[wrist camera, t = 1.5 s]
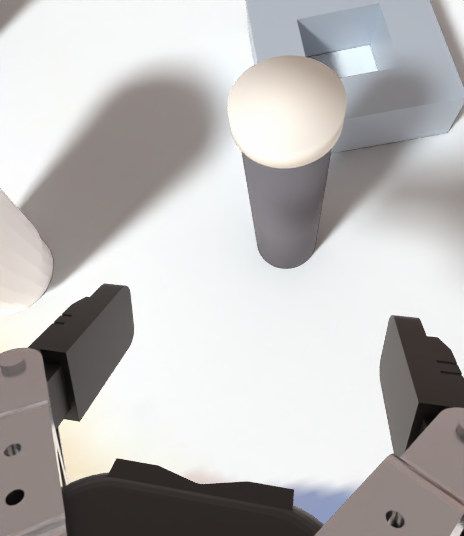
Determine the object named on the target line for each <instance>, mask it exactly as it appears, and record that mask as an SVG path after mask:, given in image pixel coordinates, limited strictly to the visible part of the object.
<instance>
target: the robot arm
mask: <svg viewBox="0 0 464 536" xmlns="http://www.w3.org/2000/svg"><path fill="white" fill-rule="evenodd" d="M133 335H134V323H133V313H132V304H131V294H130V290H129V288H128V287H127V286H122V285H113V284H103V285H101V286H100V287H99V288H98V290H97V291H96V292H95V293H94V294H93V295H92V296H91V297H85V298H83V299H81V300H79V301H77V302H76V303H74V304H72V305H71V306H70V307H69V308H68V309H67V310H66V311H65V312H64V313H63V314H62V316H60V317H59V318H58V319H57V320H55V321H54V324H51V325H50V326H49V327H48V328H47V329H46V330H45V331H44V332H43V333H42V334H41V335H40V336H39V337H38V338H37V339H36V340H35V341H34V342H33V343H32V344H31V345H30V346H29V347H28V348H17V349H12V350H9V351H6V352H3V353H1V354H0V536H464V378H463V376H461V374H462V373H461V371H460V369H459V367H458V365H457V362H456V360H455V358H454V356H453V353H452V351H451V349H450V348H448V347H447V346H446V345H445V344H444V343H443V342H442V341H441V340H440V339H439V338H437V337H428V336H426V333H425V331H424V328H423V326H422V323H421V321H420V319H419V318H413V317H404V316H395V315H392V316H391V317H390V319H389V322H388V327H387V332H386V336H385V341H384V346H383V350H382V355H381V360H380V382H381V387H382V392H383V398H384V403H385V408H386V414H387V419H388V424H389V429H390V435H391V440H392V445H393V450H394V454H391V455H389V456H388V457H387V458H386V459H385V460H384V461H383V462H382V463H381V464H380V465H379V466H378V467H377V468H376V469H375V470H374V472H373V473H372V474H371V475H370V476H369V477H368V478H367V479H366V480H365V481H364V482H363V483H362V485H361V486H360V487H359V488H358V489H357V490H356V491H355V492H354V493H353V494H352V495H351V496H350V497H349V499H348V500H347V501H346V502H345V503H344V504H343V505H342V506H341V507H340V508H339V509H338V510H337V512H336V513H335V514H334V515H333V516H332V517H331V518H330V519H329V520H328V521H327V523H325V525H324V524H323V523H321V522H320V521H319V520H318V519H316V518H315V517H314V516H312V515H311V514H309V513H307V512H305V511H304V510H302V509H300V508H298V507H296V506H293V496H294V490H293V489H287V488H281V487H276V486H270V485H265V484H259V483H253V482H233V483H216V484H198V483H195V482H193V481H190V480H188V479H186V478H184V477H182V476H179V475H177V474H175V473H173V472H171V471H169V470H166V469H164V468H162V467H160V466H157V465H151V464H146V463H140V462H135V461H129V460H123V459H118V458H117V459H116V461H115V462H114V464H113V466H112V468H111V470H110V472H109V473H102V474H97V475H92V476H89V477H85V478H82V479H79V480H77V481H74V482H72V483H70V484H69V483H68V478H67V472H66V466H65V460H64V454H63V448H62V443H61V437H60V432H59V427H58V426H59V425H60V423H61V422H62V420H63V419H67V420H73V421H79V422H80V420H81V419H82V417H83V416H84V414H85V413H86V411H87V410H88V408H89V407H90V405H91V404H92V402H93V401H94V399H95V398H96V396H97V395H98V393H99V392H100V390H101V389H102V387H103V386H104V384H105V383H106V381H107V380H108V378H109V377H110V375H111V374H112V372H113V371H114V369H115V368H116V366H117V365H118V363H119V362H120V360H121V359H122V357H123V356H124V354H125V353H126V351H127V350H128V348H129V347H130V345H131V342H132V339H133Z"/></svg>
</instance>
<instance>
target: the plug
mask: <svg viewBox="0 0 464 536" xmlns="http://www.w3.org/2000/svg"><path fill="white" fill-rule="evenodd" d="M346 105H347V96H346V91H345V88H344V85H343V83H342V81H341V79H340V78H339V77H338V75H337V74H336V73H335V72H334V71H333V70H332V69H331V68H329V67H328V66H327V65H325V64H323V63H321V62H319V61H317V60H315V59H312V58H308V57H303V56H295V55H286V56H278V57H273V58H269V59H266V60H264V61H261V62H259V63H257V64H255V65H254V66H252V67H250V68H249V69H248V70H246V71H245V72H244V73H243V74H242V75H241V76H240V77H239V78H238V79H237V81H236V82H235V84H234V85H233V87H232V89H231V91H230V94H229V98H228V105H227V107H228V116H229V121H230V126H231V131H232V136H233V138H234V141H235V143H236V144H237V146H238V148H239V149H240V150H241V151H242V157H243V163H244V169H245V175H246V181H247V187H248V193H249V199H250V205H251V211H252V217H253V222H254V228H255V234H256V240H257V246H258V250H259V253H260V254H261V256H262V257H263V259H264V260H265V261H266V262H268V263H269V264H271V265H272V266H275V267H278V268H283V269H288V268H294V267H297V266H300V265H302V264H303V263H305V262H306V261H307V260H308V259H309V258H310V257H311V255H312V253H313V251H314V248H315V243H316V238H317V232H318V226H319V220H320V214H321V208H322V202H323V197H324V191H325V185H326V179H327V173H328V167H329V161H330V156H331V150H332V147H333V146H334V145H335V143H336V142H337V140H338V138H339V136H340V134H341V131H342V127H343V122H344V117H345V111H346Z"/></svg>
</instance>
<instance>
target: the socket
mask: <svg viewBox="0 0 464 536" xmlns="http://www.w3.org/2000/svg"><path fill="white" fill-rule="evenodd" d="M246 8H247V19H248V29H249V38H250V43H251V49H252V54H253V60H254V65H255V64H257V63H259V62H261V61H264V60H266V59H269V58H273V57H278V56H286V55H295V56H303V57H307V56H313V55H318V54H323V53H328V52H334V51H339V50H344V49H349V48H355V47H360V46H365V45H370V46H371V49H372V52H373V56H374V59H375V62H376V65H377V69H378V71H375V72H370V73H365V74H359V75H354V76H348V77H343V78H340V79H341V81H342V83H343V85H344V88H345V91H346V96H347V105H346V111H345V117H344V122H343V127H342V131H341V134H340V136H339V138H338V140H337V142H336V143H335V145H334V146H333V147H332V150H331V153H334V152H340V151H346V150H352V149H358V148H363V147H369V146H375V145H381V144H387V143H392V142H398V141H404V140H410V139H416V138H421V137H427V136H433V135H439V134H445V133H448V131H449V129H450V127H451V126H452V124H453V122H454V120H455V119H456V117H457V115H458V113H459V112H460V110H461V108H462V106H463V105H464V87H463V84H462V82H461V79H460V77H459V74H458V71H457V69H456V66H455V64H454V61H453V59H452V56H451V54H450V51H449V49H448V46H447V43H446V41H445V38H444V36H443V33H442V31H441V28H440V26H439V23H438V21H437V18H436V15H435V13H434V10H433V8H432V5H431V3H430V0H246Z"/></svg>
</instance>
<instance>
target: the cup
mask: <svg viewBox="0 0 464 536" xmlns="http://www.w3.org/2000/svg"><path fill="white" fill-rule="evenodd" d="M52 272H53V258H52V255H51V252H50V249H49V248H48V247H47V245H46V244H45V243H44V242H43V241H42V240H41V239H40V236H39V233H38V231H37V230H36V229H35V227H34V226H33V225H32V224H31V222H30V221H29V220H28V219H27V218H26V217H25V216H24V214H23V213H22V212H21V211H20V210H19V209H18V208H17V207H16V205H15V204H14V203H13V202H12V201H11V200H10V199H9V197H8V196H7V195H6V194H5V193H4V192H3V191H2V190H1V188H0V314H1V315H9V314H13V313H17V312H20V311H22V310H24V309H26V308H28V307H30V306H31V305H32V304H33V303H35V302H36V301H37V300H38V299H39V298H40V297H41V296H42V294H43V293H44V292H45V290H46V289H47V287H48V285H49V283H50V280H51V277H52Z"/></svg>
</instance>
